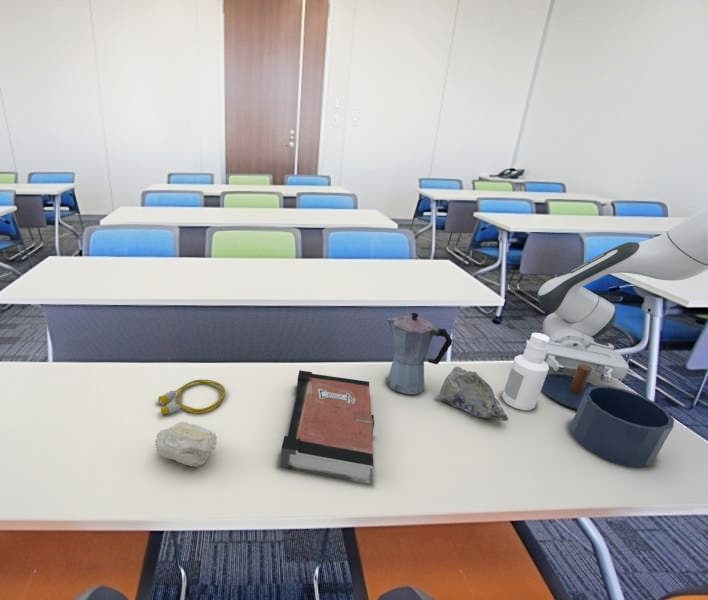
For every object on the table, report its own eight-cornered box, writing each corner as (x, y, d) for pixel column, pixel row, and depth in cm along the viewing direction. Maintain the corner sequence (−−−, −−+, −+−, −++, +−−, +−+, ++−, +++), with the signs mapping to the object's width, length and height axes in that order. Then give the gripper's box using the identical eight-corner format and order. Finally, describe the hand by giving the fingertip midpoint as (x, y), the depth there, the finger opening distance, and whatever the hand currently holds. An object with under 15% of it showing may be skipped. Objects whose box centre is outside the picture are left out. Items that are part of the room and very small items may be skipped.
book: (374, 485, 73) (378, 465, 71) (280, 467, 76) (281, 447, 74) (369, 397, 96) (372, 380, 94) (298, 386, 100) (299, 370, 98)
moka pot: (383, 366, 109) (395, 300, 100) (443, 387, 100) (460, 316, 92) (370, 383, 101) (382, 313, 93) (434, 407, 93) (452, 332, 85)
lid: (601, 386, 102) (613, 359, 98) (621, 422, 89) (635, 392, 86) (534, 372, 107) (543, 345, 104) (543, 404, 95) (554, 375, 92)
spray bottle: (514, 390, 100) (535, 326, 92) (541, 406, 94) (566, 340, 87) (495, 396, 97) (515, 332, 90) (522, 414, 91) (546, 346, 84)
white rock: (161, 439, 83) (153, 481, 74) (153, 410, 79) (144, 451, 70) (218, 433, 83) (218, 474, 75) (214, 404, 79) (213, 444, 71)
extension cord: (161, 385, 100) (161, 378, 99) (224, 381, 101) (224, 375, 100) (155, 417, 89) (155, 410, 88) (226, 413, 90) (226, 406, 89)
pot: (638, 431, 87) (656, 396, 83) (665, 477, 76) (688, 438, 72) (563, 413, 92) (578, 379, 88) (578, 453, 81) (595, 416, 77)
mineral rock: (508, 428, 87) (521, 391, 83) (463, 432, 86) (473, 394, 82) (472, 392, 99) (482, 357, 95) (432, 394, 98) (440, 360, 93)
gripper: (527, 328, 110) (536, 352, 98) (620, 345, 102) (641, 373, 90) (521, 348, 112) (528, 374, 101) (611, 366, 104) (630, 396, 93)
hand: (582, 374), depth 96 cm, fingers open, 8 cm apart
